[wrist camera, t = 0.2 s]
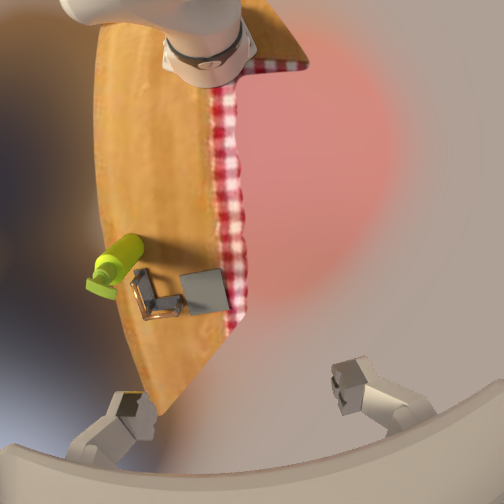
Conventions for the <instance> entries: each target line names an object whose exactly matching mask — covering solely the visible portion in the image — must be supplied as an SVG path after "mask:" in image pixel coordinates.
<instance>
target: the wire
mask: <svg viewBox="0 0 504 504" xmlns="http://www.w3.org/2000/svg"><path fill="white" fill-rule="evenodd" d="M134 274H135V277H134V279H133V280H132V282H131V283H130V285H131V287H132V289H133V292H134V295H135V298H136V300H137V303H138V306H139V308H140V311H141V314H142V316H143V317H142V318H143V320H145V321H147V320H153V319H160V318H168V317H178V316H179V314H180V310H181V307H184V304H183V299H182V297H181V294H178V295H171V296H164V297H158V298H156V297H155V294H154V291H153V287H152V284H151V281H150V278H149V275H148V272H147V268H142V269H136V270H134ZM137 285H138V286H139V289H140V292H141V295H142V298H143V301H144V304H145V306H146V311H145V309H144V306H143V303H142V301H141V298H140V295H139V292H138V289H137ZM172 308H174V310H173V312H169V313H162V314H154V315H151V313H152V311H158V310H165V309H172Z"/></svg>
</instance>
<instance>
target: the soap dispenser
mask: <svg viewBox="0 0 504 504" xmlns="http://www.w3.org/2000/svg"><path fill="white" fill-rule="evenodd" d="M143 252H144V243H143V241H142V239H141V238H140V237H139V236H137V235H135V234H126V235H124V236H123V237H122V238H121V239H119V240H118V241H117V242H116V243H115V244H113V245H112V246H111V247H110V248H109V249H108V250H106V251H105V252H104V253H103V254H102V255H101V256H100V257H98V259H97V260H96V263H95V271H94V273H93V279H91V278H87V282H86V289H87V290H89V291H91V292H93V293H95V294H97V295H100V296H103V297H105V298H109V299H113V300H116V295H117V289H116V288H113V287H110V286H108V285H117V284H119V283H120V282H121V281H122V280H123V278H124V277H125V276H126V275H127V273H128V272H129V271H130V270H131V268H132V267H133V266H134V265H135V263H136V262H137V261H138V260H139V258H140V257H141V256H142V255H143Z"/></svg>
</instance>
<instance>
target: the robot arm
mask: <svg viewBox="0 0 504 504" xmlns="http://www.w3.org/2000/svg"><path fill="white" fill-rule="evenodd" d="M59 1H60V3H61V6H62V8H63V9H64V11H65V12H66V13H67V14H68V15H69V16H70V17H71V18H73V19H74V20H76V21H78V22H80V23H82V24H85V25H94V24H102V23H114V22H123V23H133V24H139V25H144V26H148V27H152V28H155V29H158V30H160V31H162V32H163V34H164V35H165V36H166V38H165V40H164V42H163V45H164V55H163V64H162V65H163V68H164V70H166V71H168V72H171V73H174V74H177V75H178V76H179V77H180V78H181V79H182V80H184V81H185V82H186V83H188V84H190V85H193V86H196V87H200V88H213V87H218V86H221V85H224V84H226V83H228V82H230V81H231V80H233V79H234V78H235V77H236V76H237V75H238V74H239V73H240V72H241V71H242V69H243V67H244V65H245V63H246V62H247V61H248V60H249V59H250V58H252V57H253V56H254V55H255V54H256V53H257V47H256V45H255V43H254V41H253V38H252V36H251V34H250V32H249V30H248V28H247V26H246V24H245V22H244V20H243V18H242V16H241V8H242V6H241V1H240V0H59ZM250 45H251V46H250ZM331 368H332V369H331V371H332V374H333V377H332V378H331V384H332V390H333V393H334V396H335V398H337V399H338V406H339V409H340V411H341V414H342V415H343V416H344V415H348V414H351V413H355V412H358V411H361V412H362V413H364V414H365V415H367V416H368V417H370V418H371V419H373V420H374V421H376V422H377V423H379V424H381V425H382V426H384V427H385V428H387V429H388V431H387V434H386V437H385V439H382V440H379V441H376V442H374V443H371V444H368V445H365V446H362V447H359V448H356V449H352V450H349V451H346V452H342V453H339V454H335V455H332V456H328V457H324V458H320V459H316V460H312V461H308V462H302V463H298V464H292V465H287V466H281V467H275V468H269V469H262V470H254V471H245V472H235V473H220V474H159V473H145V472H135V471H126V470H120V469H119V468H118V467H117V466H116V464H117V463H118V462H119V461H120V459H121V458H122V457H123V456H124V455H125V454H126V452H127V451H128V450H129V449H130V448H131V447H132V445H133V444H134V443H135V442H136V440H153V435H154V431H155V429H154V427H153V424H154V423H156V421H157V410H156V407H155V405H154V403H152V402H151V401H149V395H148V393H147V392H139V391H136V392H135V391H125V392H124V391H117V392H115V393H114V396H113V398H112V401H111V404H110V406H109V409H108V411H107V414H106V416H103V417H101V418H100V419H99V420H97V421H96V422H95V423H94V424H92V425H91V426H90V427H89V428H87V429H86V430H85V431H84V432H82V433H81V434H80V435H79V436H77V437H76V438H75V439H74V440H72V442H71V444H70V447H69V449H68V452H67V455H66V457H65V459H63V458H59V457H55V456H52V455H48V454H45V453H42V452H39V451H36V450H32V449H30V448H27V447H24V446H21V445H19V444H15V443H13V444H10V445H8V446H6V447H4V448H3V449H1V450H0V504H504V379H498V380H495V381H494V382H492V383H490V384H489V385H488V386H486V387H484V388H483V389H481V390H480V391H478V392H477V393H475V394H474V395H472V396H470V397H469V398H467V399H465V400H464V401H462V402H460V403H459V404H457V405H455V406H453V407H451V408H450V409H448V410H446V411H444V412H442V413H440V414H437V413H436V411H435V410H434V408H433V407H432V405H431V404H430V402H429V401H428V399H427V398H426V397H425V396H423V395H421V394H419V393H416V392H414V391H412V390H409V389H407V388H405V387H402V386H400V385H398V384H395V383H393V382H391V381H389V380H386V379H384V378H382V379H380V378H379V376H378V374H377V373H376V371H375V370H374V368H373V366H372V365H371V363H370V361H369V360H368V358H367V357H366V356H365V355H364V356H361V357H358V358H354V359H351V360H347V361H344V362H340V363H337V364H333V365H332V367H331Z"/></svg>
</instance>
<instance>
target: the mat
mask: <svg viewBox="0 0 504 504" xmlns="http://www.w3.org/2000/svg"><path fill="white" fill-rule="evenodd" d="M179 278H180V281H181V285H182V288H183V292H184V295H185V298H186V302H187V305H188V308H189V312H190V315H198V314H204V313H211V312H217V311H224V310H229V305H228V301H227V296H226V292H225V288H224V283H223V279H222V274H221V270H220V268H218V269H212V270H206V271H201V272H195V273H189V274H183V275H179Z"/></svg>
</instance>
